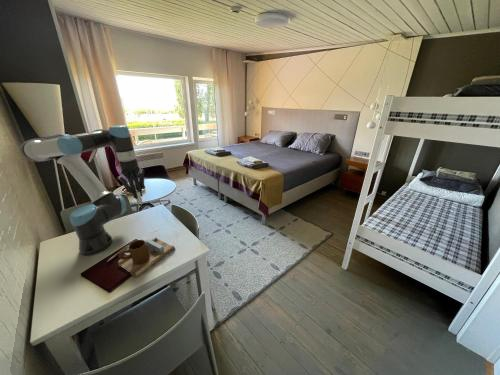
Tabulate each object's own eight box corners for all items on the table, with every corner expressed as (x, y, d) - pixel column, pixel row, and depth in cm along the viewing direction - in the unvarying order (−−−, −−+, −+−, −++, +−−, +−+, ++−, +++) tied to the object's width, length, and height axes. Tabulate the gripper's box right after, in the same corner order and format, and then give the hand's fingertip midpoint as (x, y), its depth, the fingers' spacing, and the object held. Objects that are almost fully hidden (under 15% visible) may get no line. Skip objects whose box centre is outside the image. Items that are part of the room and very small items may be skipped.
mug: (124, 272, 95) (118, 257, 91) (121, 263, 100) (116, 248, 96) (151, 260, 101) (147, 245, 97) (147, 252, 107) (143, 237, 103)
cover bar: (147, 246, 110) (145, 240, 109) (150, 244, 112) (148, 238, 110) (161, 254, 104) (159, 248, 103) (164, 252, 106) (163, 246, 104)
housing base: (118, 265, 100) (116, 261, 99) (157, 240, 117) (156, 236, 116) (136, 278, 93) (134, 274, 92) (175, 249, 110) (174, 245, 109)
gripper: (117, 164, 91) (132, 210, 100) (144, 156, 101) (155, 199, 110) (109, 162, 94) (123, 206, 104) (136, 155, 104) (146, 196, 114)
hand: (140, 202), depth 107 cm, fingers closed
